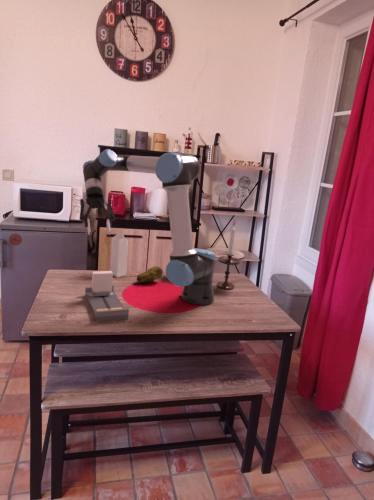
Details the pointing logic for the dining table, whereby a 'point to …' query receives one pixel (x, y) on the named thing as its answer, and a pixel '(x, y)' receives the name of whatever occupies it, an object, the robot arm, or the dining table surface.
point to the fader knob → (102, 282)
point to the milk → (119, 255)
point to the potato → (150, 275)
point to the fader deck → (106, 306)
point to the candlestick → (228, 263)
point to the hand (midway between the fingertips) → (99, 233)
